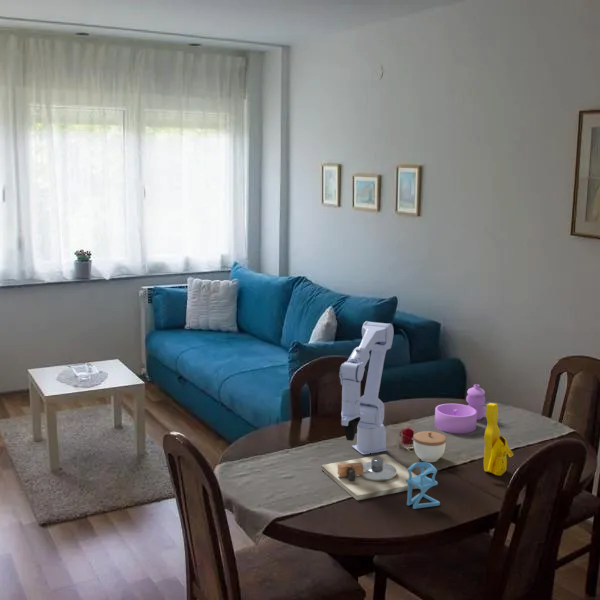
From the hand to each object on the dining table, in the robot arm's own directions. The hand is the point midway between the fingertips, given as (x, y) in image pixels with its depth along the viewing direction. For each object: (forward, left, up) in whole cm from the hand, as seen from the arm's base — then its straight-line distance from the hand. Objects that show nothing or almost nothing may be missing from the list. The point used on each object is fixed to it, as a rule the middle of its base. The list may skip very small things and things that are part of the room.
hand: (350, 439), depth 239 cm
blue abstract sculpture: (-7, +31, -10) cm, 33 cm away
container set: (-59, -20, -10) cm, 63 cm away
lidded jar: (-28, +4, -10) cm, 30 cm away
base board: (-3, +10, -9) cm, 14 cm away
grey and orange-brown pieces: (0, +11, -8) cm, 13 cm away
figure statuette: (-41, +21, -10) cm, 47 cm away
